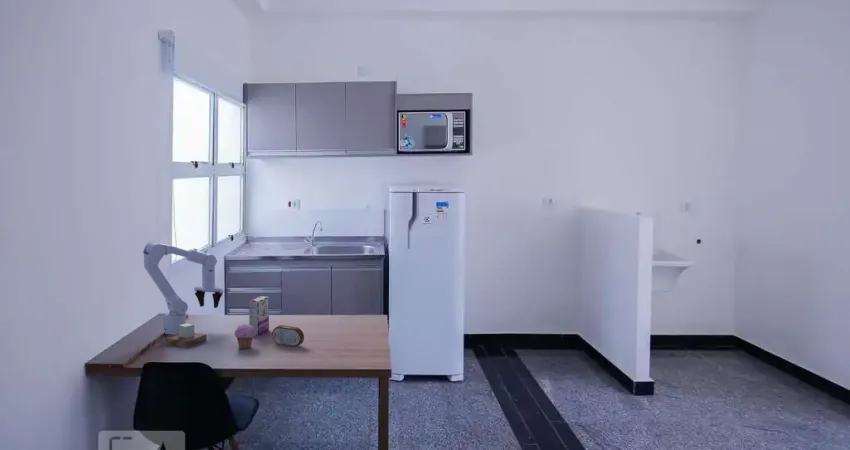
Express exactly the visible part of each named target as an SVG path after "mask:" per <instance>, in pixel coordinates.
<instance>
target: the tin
mask: <svg viewBox="0 0 850 450" xmlns="http://www.w3.org/2000/svg"><path fill="white" fill-rule="evenodd" d="M271 337H272V340H273V342H274V343H275V344H277V345H280V344H281V346H286V345H288V346H287V347H293V346H296V347H298V346H300V345H302V344H303V343H304V341H305V334H304V332H303V331H302V329H300V328H299V327H297V326H290V325H285V324H284V325H283V324H280V325H277V326H276V327H275V328H273V329H272V332H271Z"/></svg>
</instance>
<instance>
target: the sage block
mask: <svg viewBox="0 0 850 450" xmlns="http://www.w3.org/2000/svg"><path fill="white" fill-rule="evenodd" d="M194 333H195V324H193V323H187V322H186V324H182V325H179V337H183V338H188V337H192V336H194Z"/></svg>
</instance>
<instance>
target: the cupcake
mask: <svg viewBox="0 0 850 450" xmlns="http://www.w3.org/2000/svg"><path fill="white" fill-rule="evenodd" d="M255 334H256V333H255V329H254V327H253V326H251V325H249V324H240V325H238V326H237V328H236V329H235V330H234V336H235V338H236V339H237V343H238V344H237V345H238V348H239V349H241V350H245V349H250V348H251V347H252V343H253V339H254V338H255Z"/></svg>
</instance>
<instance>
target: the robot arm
mask: <svg viewBox="0 0 850 450" xmlns="http://www.w3.org/2000/svg"><path fill="white" fill-rule="evenodd" d="M142 253H143V266H144V269H145V270H146V272H147V273H148V275H149V277H150V278H151V279H152V281H153V283H155V285H156V288H158V289H159V291H160V293H161V294H162V295H163V297H164V299H165V302H166V307H167V309H168V310H169V312H168V313H165V314H164V316H163V320H162V332H163V331H165V332H166V333H165V334H166V335H172V336H173V335H175V334H178V333H179V325H182V324H186V323H187V311H188V309H189V306H188V303H187V302H186V301H184V300H182V298H181V297H180V296H179V295H178V294H177V293H176V291H175V290H174V288H173V286H172V285H171V283H170V282H169V281H168V280H167V278H166V276H165V275H164V273H163V272H162V271H161V269H160V267H159V265H160V264H159V263H160V261H161V260H162V259H163V257H164V256H168V255H170V254H172V255H175V256H176V255H177V256H180V257H183V258H186V260H187V261H188V262H192V263H195V264H199V265H202V266H201V267H202V268H201V269H202V270H201V274H202V275H201V277H202V278H201V279H202V280H201V281H202V282H201V283H202V286H195V287H194V288H193V289H194V295H195V296H196V299H197V301H198V304H199V307H200V308H202V307H204V306H205V295H206V293H212V299H213V308H214V309H216V308H219V304H220V300H221V298H222V296H223V294H224V288H220V287H216V274H215V273H216V269H215V267H216V264H217V262H218V259H217V258H216V256H215V255H214V254H210V253H207V251H200V250H198V249H197V248H190V249H189V250H187V249H183V248H179V247H177V246H174V245H170V244H165V243H159V242H158V243H157V242H153V241H151V242H148V243H146V245H145V246H144V248H143V251H142ZM165 334H164V335H165Z"/></svg>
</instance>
